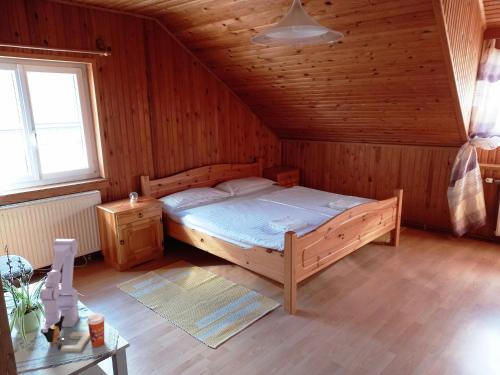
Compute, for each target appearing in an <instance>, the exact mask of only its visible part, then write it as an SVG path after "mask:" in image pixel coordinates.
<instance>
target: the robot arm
mask: <svg viewBox="0 0 500 375" xmlns="http://www.w3.org/2000/svg"><path fill="white" fill-rule="evenodd" d="M52 245H53V247H52V250H53V252H54V257H53V258H54V259H53V264H52V269H51V270H50V271H49V272H48V273H47V277H46V280H45V284H44V287H42V289H41V290H40V293H39V299H40V300H41V304H42V305H43V310H44V312H43V313H44V319H43V320H42V321H43V322H44V324H43V327H42V328H41V330H40V333H41V335H43V336H44V337H45V339H46V341H47V343H50V342H53V334H54V330H55V329H51V328H50V327H52V326H58V327H59V332H60V333H61V332H62V329H63V328H73V327H74V326H75V324H76V323H77V322H78V321H79V319H81V315H79V306H78V305H79V304H78V302H79V297H78V295H79V294H78V290H76V289H74V288H73V277H74V276H73V275H74V263H75V256H76V255H78V249H79V243H78V241H77V239H76V238H56V239H55V240H54V241H53V244H52ZM61 270H62V272H61ZM60 282H61V287H60Z"/></svg>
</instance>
